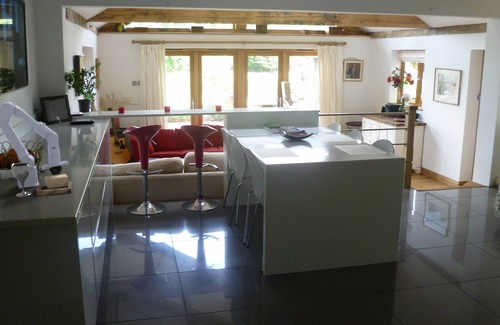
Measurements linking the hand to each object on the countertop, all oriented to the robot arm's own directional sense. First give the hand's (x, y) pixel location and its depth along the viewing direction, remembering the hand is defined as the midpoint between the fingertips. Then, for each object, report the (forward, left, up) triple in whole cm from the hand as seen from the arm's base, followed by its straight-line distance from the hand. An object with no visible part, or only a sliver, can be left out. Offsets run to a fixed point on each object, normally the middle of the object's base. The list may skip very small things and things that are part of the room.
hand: (56, 180), depth 260 cm
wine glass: (-17, -15, -1) cm, 23 cm away
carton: (0, -6, -1) cm, 6 cm away
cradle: (-2, -14, -1) cm, 14 cm away
